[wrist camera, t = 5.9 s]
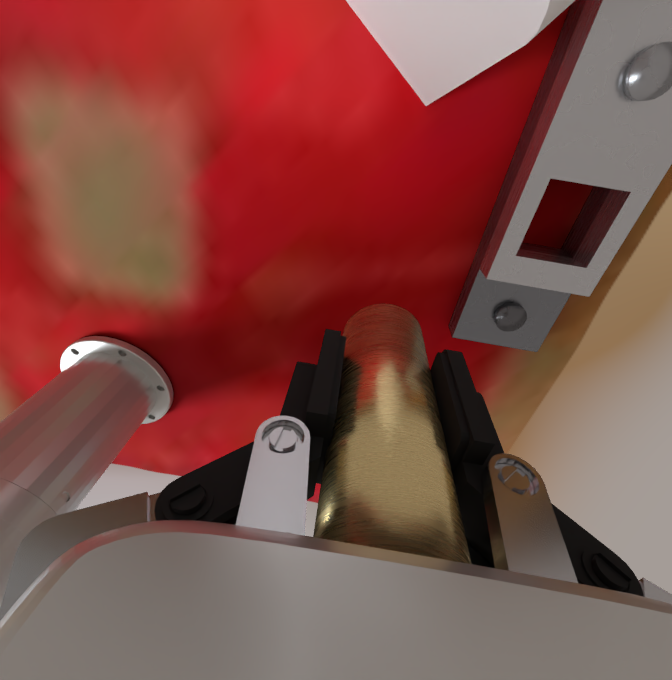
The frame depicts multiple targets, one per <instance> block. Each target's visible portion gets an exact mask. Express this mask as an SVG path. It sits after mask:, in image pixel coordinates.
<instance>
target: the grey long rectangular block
mask: <svg viewBox="0 0 672 680" xmlns="http://www.w3.org/2000/svg"><path fill="white" fill-rule="evenodd" d="M671 164H672V0H578V1H576V2H574V3H572V4H571V6H570V9H569V12H568V14H567V17H566V19H565V22H564V25H563V27H562V30H561V33H560V35H559V38H558V40H557V43H556V46H555V48H554V51H553V53H552V56H551V59H550V61H549V64H548V67H547V69H546V72H545V74H544V77H543V80H542V82H541V85H540V87H539V90H538V93H537V95H536V98H535V101H534V103H533V106H532V108H531V111H530V114H529V116H528V119H527V121H526V124H525V127H524V129H523V132H522V135H521V137H520V140H519V142H518V145H517V148H516V150H515V153H514V155H513V158H512V161H511V163H510V166H509V168H508V171H507V174H506V176H505V179H504V182H503V184H502V187H501V189H500V192H499V195H498V197H497V200H496V202H495V205H494V208H493V210H492V213H491V216H490V218H489V221H488V223H487V226H486V229H485V231H484V234H483V236H482V239H481V242H480V244H479V247H478V250H477V252H476V255H475V257H474V260H473V263H472V265H471V268H470V270H469V273H468V276H467V278H466V281H465V284H464V286H463V289H462V291H461V294H460V297H459V299H458V302H457V304H456V307H455V310H454V312H453V315H452V318H451V320H450V323H449V325H448V326H449V329H450V332H451V335H452V337H454V338H459V339H465V340H471V341H476V342H482V343H488V344H494V345H499V346H505V347H511V348H517V349H522V350H528V351H534V352H537V351H538V350H539V348H540V346H541V345H542V343H543V341H544V339H545V338H546V336H547V334H548V333H549V331H550V329H551V327H552V326H553V324H554V322H555V321H556V319H557V317H558V315H559V314H560V312H561V310H562V309H563V307H564V305H565V303H566V302H567V300H568V298H569V297H570V295H571V294H576V295H582V296H588V297H589V296H590V295H591V293H592V292H593V290H594V288H595V287H596V285H597V283H598V282H599V280H600V279H601V277H602V275H603V274H604V272H605V271H606V269H607V267H608V266H609V264H610V263H611V261H612V259H613V258H614V256H615V254H616V253H617V251H618V250H619V248H620V246H621V245H622V243H623V242H624V240H625V238H626V237H627V235H628V233H629V232H630V230H631V229H632V227H633V225H634V224H635V222H636V221H637V219H638V217H639V216H640V214H641V213H642V211H643V209H644V208H645V206H646V204H647V203H648V201H649V200H650V198H651V196H652V195H653V193H654V192H655V190H656V188H657V187H658V185H659V184H660V182H661V180H662V179H663V177H664V175H665V174H666V172H667V171H668V169H669V167H670V166H671ZM550 179H557V180H563V181H569V182H575V183H581V184H587V185H592V186H594V187H593V189H592V191H591V193H590V195H589V197H588V199H587V201H586V203H585V205H584V207H583V208H582V210H581V212H580V214H579V216H578V218H577V220H576V222H575V224H574V226H573V228H572V229H571V231H570V233H569V235H568V237H567V239H566V241H565V243H564V245H563V247H562V249H557V248H551V247H545V246H539V245H533V244H528V243H522V241H523V239H524V236H525V234H526V232H527V230H528V228H529V225H530V223H531V221H532V219H533V216H534V214H535V212H536V210H537V208H538V205H539V203H540V201H541V199H542V197H543V194H544V192H545V190H546V188H547V185H548V183H549V181H550Z"/></svg>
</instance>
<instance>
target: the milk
mask: <svg viewBox="0 0 672 680" xmlns="http://www.w3.org/2000/svg"><path fill="white" fill-rule="evenodd" d="M346 1H347V3H348V4H349V5H350V7H351V8H352V9H353V11H354V12H355V13H356V14H357V16H358V17H359V18H360V20H361V21H362V22H363V24H364V25H365V26H366V28H367V29H368V30H369V32H370V33H371V34H372V36H373V37H374V38H375V40H376V41H377V42H378V44H379V45H380V46H381V47H382V49H383V50H384V51H385V53H386V54H387V55H388V57H389V58H390V59H391V61H392V62H393V63H394V65H395V66H396V67H397V69H398V70H399V71H400V73H401V74H402V75H403V77H404V78H405V79H406V81H407V82H408V83H409V84H410V86H411V87H412V88H413V90H414V91H415V92H416V94H417V95H418V96H419V98H420V99H421V100H422V102H423V103H424V104H425V106H427V105H429V104H430V103H432V102H434V101H435V100H437V99H439V98H440V97H442V96H443V95H445V94H447V93H448V92H450V91H452V90H453V89H455V88H456V87H458V86H460V85H461V84H463V83H465V82H466V81H468V80H469V79H471V78H473V77H474V76H476V75H478V74H479V73H481V72H482V71H484V70H486V69H487V68H489V67H491V66H492V65H494V64H495V63H497V62H499V61H500V60H502V59H504V58H505V57H507V56H508V55H510V54H512V53H513V52H515V51H517V50H518V49H520V48H521V47H523V46H525V45H526V44H527V43H528V42H530V41H531V40H532V39H533V38H534V37H535V36H536V35H537V34H538V33H540V32H541V31H542V30H543V29H544V28H545V27H546V26H547V25H548V24H550V23H551V22H552V21H553V20H554V19H555V18H556V17H557V16H558V15H560V14H561V13H562V12H563V11H564V10H565V9H566V8H567V7H568V6H570V5H571V4H572V3H573V2H574V1H575V0H346Z"/></svg>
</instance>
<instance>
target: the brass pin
mask: <svg viewBox="0 0 672 680" xmlns="http://www.w3.org/2000/svg"><path fill="white" fill-rule="evenodd" d="M343 336H346V344H345V351H344V359H343V367H342V374H341V382H340V389H339V397H338V405H337V412H336V418H335V424H334V429H333V434H332V439H331V444H330V445H329V447H328V449H327V451H326V455H325V461H324V468H323V475H322V482H321V488H320V495H319V502H318V509H317V516H316V522H315V529H314V536H313V537H315V538H321V539H327V540H333V541H339V542H345V543H351V544H357V545H363V546H369V547H375V548H380V549H386V550H392V551H398V552H404V553H409V554H415V555H421V556H427V557H432V558H438V559H444V560H450V561H455V562H461V563H467V564H471V559H470V554H469V550H468V545H467V540H466V536H465V531H464V526H463V522H462V517H461V512H460V508H459V503H458V498H457V494H456V489H455V484H454V480H453V475H452V470H451V466H450V461H449V457H448V452H447V447H446V443H445V438H444V433H443V429H442V424H441V419H440V415H439V410H438V405H437V401H436V396H435V391H434V387H433V382H432V377H431V373H430V368H429V363H428V359H427V354H426V349H425V345H424V340H423V336H422V331H421V327H420V325H419V323H418V321H417V320H416V318H415V317H414V316H413V315H412V314H411V313H410V312H409V311H407V310H405V309H404V308H401V307H399V306H396V305H392V304H374V305H370V306H367V307H364V308H362V309H361V310H359V311H357V312H356V313H355V314H354V315H353V316H352V317H351V318H350V319H349V320H348V322H347V324H346V326H345V328H344V333H343Z"/></svg>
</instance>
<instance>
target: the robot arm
mask: <svg viewBox="0 0 672 680" xmlns="http://www.w3.org/2000/svg"><path fill="white" fill-rule="evenodd" d="M340 335H341V331H335V330H329V329H326V330H325V335H324V339H323V343H322V347H321V352H320V356H319V360H318V365H315V364H309V363H303V362H297V364H296V367H295V370H294V373H293V376H292V380H291V383H290V386H289V389H288V392H287V395H286V398H285V402H284V405H283V408H282V411H281V414H280V416H276V417H272V418H270V419H268V420H266V421H264V422H263V423H262V424H261V425H260V426H259V428H258V430H257V433H256V436H255V440H254V442H252V443H250V444H248V445H246V446H244V447H241V448H239V449H237V450H235V451H233V452H231V453H229V454H227V455H225V456H223V457H221V458H219V459H217V460H215V461H213V462H211V463H209V464H206V465H204V466H202V467H200V468H198V469H196V470H194V471H192V472H190V473H188V474H186V475H184V476H182V477H180V478H178V479H176V480H175V481H173V482H171V483H170V484H169V485H168V486H166V488H165V489H164V490H163V491H162V492H161V493H157V494H153V495H150V496H148V493H147V492H144V493H141V494H137V495H133V496H129V497H125V498H122V499H118V500H114V501H110V502H106V503H103V504H99V505H95V506H91V507H87V508H83V509H79V510H76V508H77V507H78V506H79V504H80V503H81V501H82V500H83V499H84V498H85V497H86V495H87V494H88V492H89V491H90V490H91V489H92V487H93V486H94V485H95V483H96V482H97V481H98V479H99V478H100V477H101V476H102V474H103V473H104V472H105V470H106V469H107V468H108V466H109V465H110V464H111V463H112V461H113V460H114V459H115V457H116V456H117V455H118V453H119V452H120V451H121V450H122V448H123V447H124V446H125V444H126V443H127V442H128V440H129V439H130V438H131V436H132V435H133V434H134V433H135V431H136V430H137V429H138V427H139V426H140V425H141V424H147V423H151V422H155V421H157V420H159V419H160V418H162V417H163V416H164V415H165V414H166V413H167V411H168V410H169V408H170V407H171V405H172V402H173V394H174V393H173V388H172V384H171V382H170V380H169V378H168V376H167V375H166V373H165V372H164V370H163V369H162V368H161V367H160V365H159V364H158V363H157V362H156V361H155V360H154V359H152V358H151V357H150V356H149V355H148V354H146V353H145V352H143V351H142V350H140V349H138V348H137V347H135V346H133V345H131V344H129V343H127V342H124V341H121V340H118V339H115V338H110V337H105V336H90V337H84V338H82V339H79V340H77V341H75V342H74V343H72V344H71V345H70V346H68V347H67V348H66V350H65V351H64V352H63V354H62V356H61V359H60V368H61V373H60V374H59V375H58V376H56V377H55V378H54V379H53V380H51V381H50V382H49V383H48V384H46V385H45V386H44V387H43V388H42V389H40V390H39V391H38V392H37V393H35V394H34V395H33V396H32V397H31V398H29V399H28V400H27V401H26V402H24V403H23V404H22V405H21V406H19V407H18V408H17V409H16V410H15V411H13V412H12V413H11V414H10V415H8V416H7V417H6V418H5V419H3V420H2V421H1V422H0V680H672V594H670V593H668V592H667V591H665V590H663V589H662V588H660V587H658V586H657V585H655V584H653V583H651V582H650V581H648V580H646V579H645V578H642V579H641V580H638V579H637V578H636V576H635V574H634V573H633V571H632V570H631V569H630V568H629V566H628V565H627V564H626V563H625V562H624V561H623V560H622V559H621V558H620V557H618V556H617V555H616V554H615V553H614V552H613V551H611V550H610V549H609V548H607V547H606V546H605V545H604V544H602V543H601V542H600V541H598V540H597V539H596V538H595V537H593V536H592V535H591V534H590V533H588V532H587V531H586V530H585V529H583V528H582V527H581V526H579V525H578V524H577V523H576V522H574V521H573V520H572V519H570V518H569V517H568V516H567V515H565V514H564V513H563V512H562V511H560V510H559V509H558V508H557V507H555V506H554V505H553V504H552V503H551V502H550V499H549V496H548V493H547V490H546V487H545V484H544V482H543V480H542V478H541V476H540V475H539V473H538V472H537V471H536V470H535V468H533V467H532V466H531V465H530V464H529V463H527V462H526V461H524V460H522V459H521V458H519V457H516V456H514V455H511V454H504V451H503V449H502V446H501V443H500V441H499V438H498V436H497V433H496V430H495V428H494V425H493V423H492V420H491V417H490V415H489V412H488V409H487V407H486V404H485V402H484V399H483V397H482V395H481V394H480V393H478V392H476V389H475V387H474V384H473V381H472V378H471V376H470V373H469V370H468V368H467V365H466V362H465V359H464V357H463V354H462V352H458V351H452V350H446V349H445V350H444V351H443V352H442V353H439V352H438V353H437V355H436V357H435V360H434V362H433V365H432V368H431V370H430V373H431V377H432V382H433V387H434V391H435V396H436V401H437V405H438V410H439V415H440V419H441V424H442V429H443V433H444V438H445V443H446V447H447V452H448V457H449V461H450V466H451V470H452V475H453V480H454V484H455V489H456V494H457V498H458V503H459V508H460V512H461V517H462V522H463V526H464V531H465V536H466V540H467V545H468V550H469V554H470V559H471V564H467V563H461V562H455V561H450V560H444V559H438V558H432V557H427V556H421V555H415V554H409V553H404V552H398V551H392V550H386V549H380V548H375V547H369V546H363V545H357V544H351V543H345V542H339V541H333V540H327V539H321V538H315V537H309V536H305V521H306V502H307V500H308V499H309V498H311V497H312V496H314V491H315V485H316V483H319V484H321V482H322V475H323V468H324V461H325V455H326V451H327V449H328V447H329V445H330V444H331V439H332V434H333V429H334V424H335V418H336V412H337V405H338V397H339V389H340V382H341V374H342V367H343V359H344V351H345V344H346V336H340Z"/></svg>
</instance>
